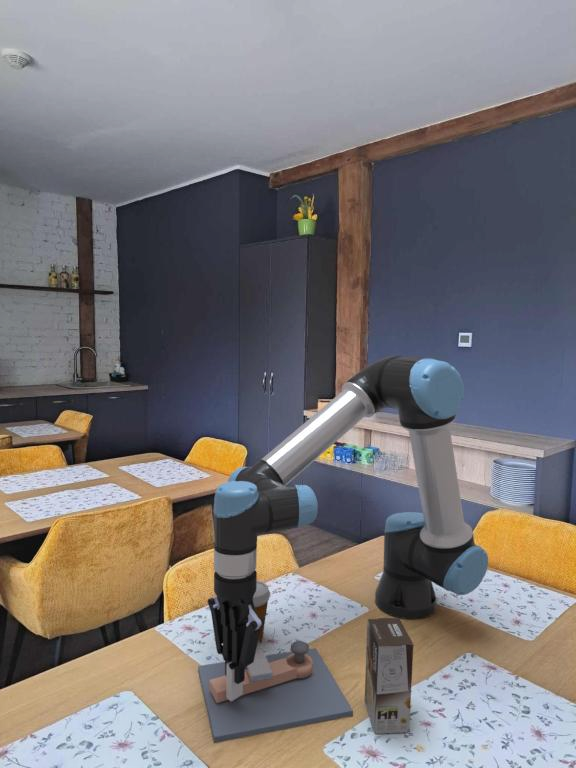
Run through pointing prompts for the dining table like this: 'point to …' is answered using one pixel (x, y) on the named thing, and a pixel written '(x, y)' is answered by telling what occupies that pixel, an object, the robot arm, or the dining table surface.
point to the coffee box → (388, 675)
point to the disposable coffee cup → (261, 603)
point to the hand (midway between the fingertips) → (234, 696)
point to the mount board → (275, 702)
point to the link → (282, 671)
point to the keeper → (259, 666)
